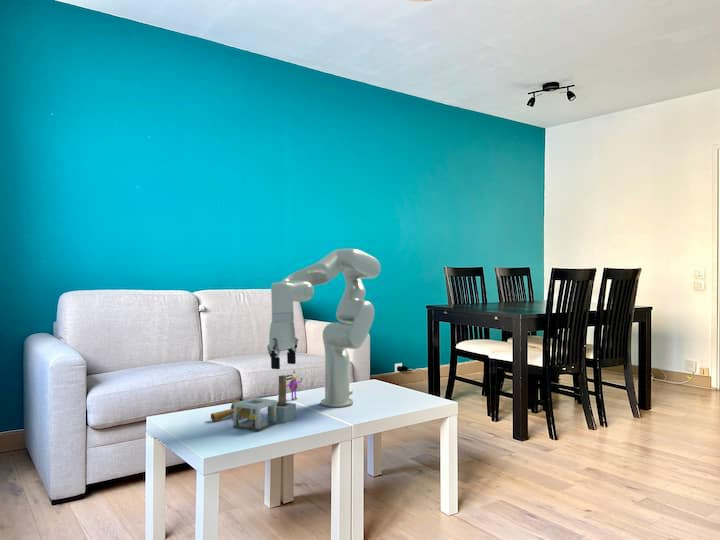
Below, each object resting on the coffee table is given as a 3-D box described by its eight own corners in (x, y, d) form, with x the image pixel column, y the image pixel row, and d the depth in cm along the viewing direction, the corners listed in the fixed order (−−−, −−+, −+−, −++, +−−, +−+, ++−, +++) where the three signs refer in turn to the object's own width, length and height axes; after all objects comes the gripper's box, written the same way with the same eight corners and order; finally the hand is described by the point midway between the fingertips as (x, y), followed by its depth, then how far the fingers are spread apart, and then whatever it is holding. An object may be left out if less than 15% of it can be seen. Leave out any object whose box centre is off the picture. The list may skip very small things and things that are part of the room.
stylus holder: (279, 415, 190) (279, 401, 190) (295, 418, 187) (295, 403, 187) (267, 420, 184) (267, 405, 184) (284, 422, 181) (284, 408, 181)
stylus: (280, 417, 187) (281, 375, 187) (287, 418, 186) (287, 375, 186) (276, 419, 185) (277, 376, 185) (282, 420, 184) (283, 377, 184)
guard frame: (252, 420, 183) (252, 397, 183) (276, 424, 179) (276, 400, 179) (233, 427, 174) (233, 403, 175) (258, 431, 170) (258, 406, 170)
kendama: (220, 428, 179) (265, 412, 191) (216, 410, 179) (262, 394, 191) (209, 428, 184) (254, 411, 197) (206, 409, 185) (251, 394, 197)
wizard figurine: (288, 402, 209) (288, 372, 210) (281, 401, 211) (281, 371, 211) (304, 397, 219) (304, 368, 220) (298, 396, 221) (298, 367, 221)
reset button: (254, 419, 179) (254, 413, 179) (263, 420, 178) (263, 414, 178) (246, 422, 176) (246, 416, 176) (256, 423, 174) (256, 417, 174)
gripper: (287, 314, 195) (288, 361, 195) (258, 319, 180) (259, 370, 180) (305, 315, 192) (306, 362, 192) (277, 320, 176) (278, 371, 177)
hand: (283, 366), depth 186 cm, fingers open, 9 cm apart
